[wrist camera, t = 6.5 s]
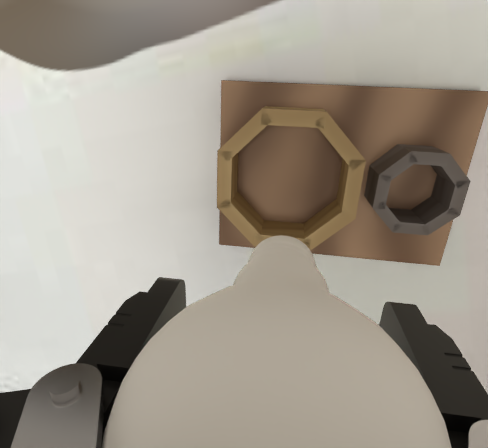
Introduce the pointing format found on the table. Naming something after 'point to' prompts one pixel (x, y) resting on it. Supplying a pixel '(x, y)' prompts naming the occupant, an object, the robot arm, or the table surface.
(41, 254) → the table surface
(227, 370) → the lightbulb
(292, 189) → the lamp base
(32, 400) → the robot arm
